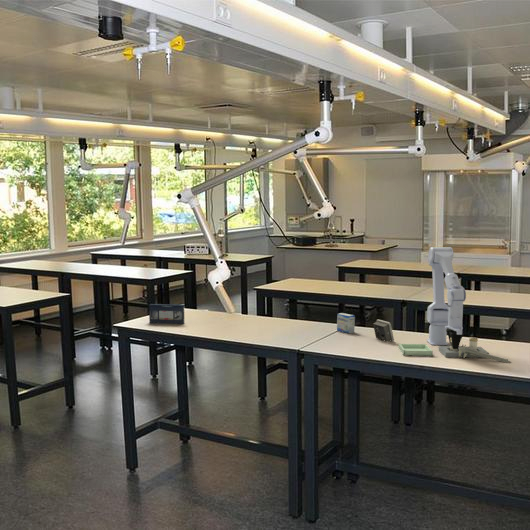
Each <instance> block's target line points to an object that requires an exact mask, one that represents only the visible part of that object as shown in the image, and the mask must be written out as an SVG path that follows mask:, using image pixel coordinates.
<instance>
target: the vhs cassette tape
mask: <svg viewBox="0 0 530 530" xmlns="http://www.w3.org/2000/svg"><path fill="white" fill-rule="evenodd" d="M148 307H149V310H148V315H149V316H148V317H149V318H148V319H149V324H167V325H168V324H169V325H170V324H171V325H184V324H185V304H168V303H167V304H166V303H165V304H162V303H150V304H149V305H148Z"/></svg>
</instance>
